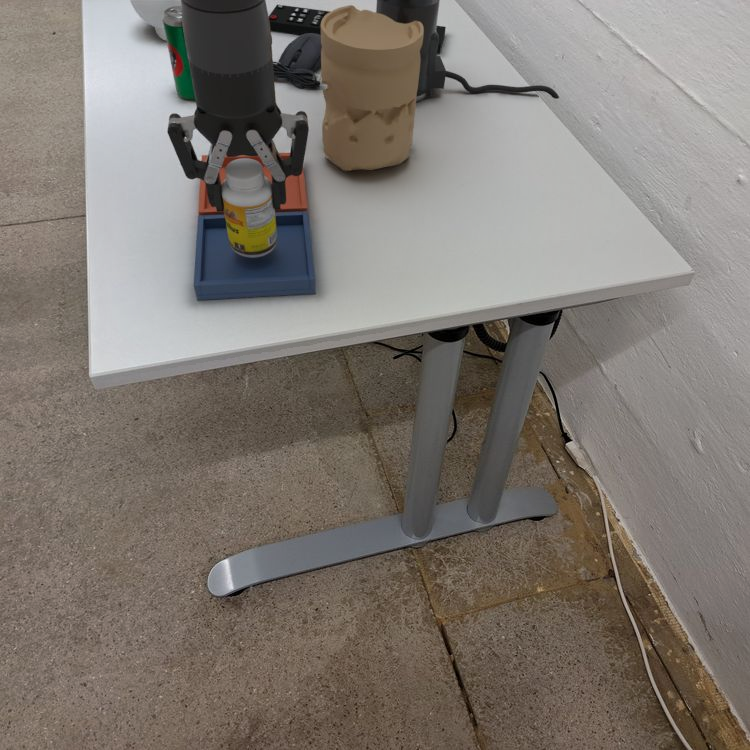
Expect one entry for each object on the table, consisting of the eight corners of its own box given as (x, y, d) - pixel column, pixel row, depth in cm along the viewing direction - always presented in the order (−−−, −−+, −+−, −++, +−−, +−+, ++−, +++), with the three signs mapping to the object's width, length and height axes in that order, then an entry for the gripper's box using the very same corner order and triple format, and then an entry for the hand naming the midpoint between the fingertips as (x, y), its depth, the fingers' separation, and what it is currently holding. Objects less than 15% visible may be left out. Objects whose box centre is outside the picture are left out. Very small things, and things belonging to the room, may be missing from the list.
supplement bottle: (224, 235, 75) (211, 158, 67) (269, 225, 77) (262, 149, 69) (236, 265, 72) (224, 188, 64) (283, 254, 74) (277, 178, 66)
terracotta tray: (302, 166, 89) (301, 152, 87) (308, 222, 82) (307, 207, 80) (204, 170, 88) (201, 155, 86) (201, 227, 80) (198, 212, 78)
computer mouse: (350, 54, 111) (350, 31, 108) (316, 92, 102) (316, 68, 99) (297, 42, 113) (296, 19, 110) (259, 79, 104) (257, 55, 101)
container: (340, 126, 96) (341, -4, 82) (420, 144, 94) (435, 14, 80) (309, 171, 89) (304, 37, 75) (395, 191, 87) (407, 58, 73)
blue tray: (308, 225, 81) (307, 210, 79) (315, 293, 74) (315, 279, 72) (201, 230, 80) (197, 215, 78) (197, 300, 72) (193, 285, 70)
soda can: (203, 103, 98) (189, 21, 89) (172, 99, 99) (155, 16, 89) (214, 88, 101) (202, 7, 92) (184, 83, 102) (169, 2, 92)
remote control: (276, 12, 120) (275, 1, 118) (444, 35, 117) (446, 23, 116) (264, 30, 115) (263, 18, 113) (439, 54, 113) (441, 42, 111)
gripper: (143, 71, 54) (180, 230, 67) (312, 69, 56) (316, 224, 69) (150, 32, 59) (184, 188, 72) (307, 31, 60) (312, 183, 74)
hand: (249, 205), depth 70 cm, fingers closed on supplement bottle, 5 cm apart
